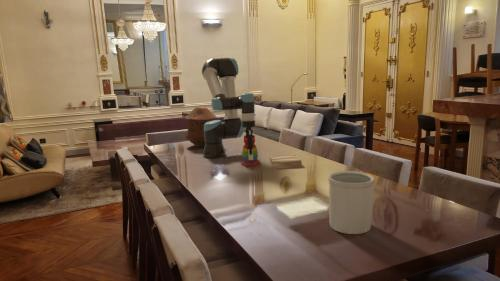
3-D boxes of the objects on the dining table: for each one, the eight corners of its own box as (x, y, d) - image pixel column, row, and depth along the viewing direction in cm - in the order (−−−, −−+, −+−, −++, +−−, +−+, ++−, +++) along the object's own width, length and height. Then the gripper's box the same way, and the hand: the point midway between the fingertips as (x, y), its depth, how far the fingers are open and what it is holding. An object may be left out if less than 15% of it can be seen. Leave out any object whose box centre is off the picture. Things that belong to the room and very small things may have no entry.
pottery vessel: (183, 144, 287) (180, 107, 281) (215, 141, 294) (212, 105, 289) (188, 150, 262) (185, 109, 257) (222, 147, 270) (219, 107, 264)
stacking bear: (260, 162, 218) (259, 133, 215) (259, 166, 208) (257, 136, 205) (242, 162, 219) (241, 133, 216) (240, 166, 210) (238, 136, 206)
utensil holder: (364, 216, 131) (365, 169, 128) (380, 234, 116) (381, 181, 113) (324, 218, 130) (323, 171, 127) (335, 236, 116) (334, 184, 113)
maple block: (269, 162, 219) (269, 156, 218) (295, 160, 220) (295, 154, 219) (273, 169, 203) (273, 162, 202) (301, 167, 204) (301, 160, 203)
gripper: (256, 122, 198) (258, 161, 202) (253, 117, 220) (254, 153, 224) (243, 122, 198) (245, 162, 202) (241, 118, 219) (242, 154, 223)
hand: (250, 157), depth 213 cm, fingers closed on stacking bear, 9 cm apart
